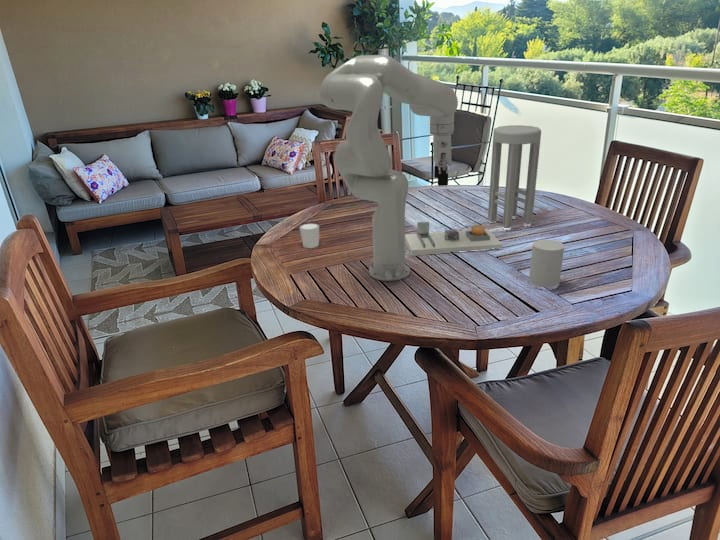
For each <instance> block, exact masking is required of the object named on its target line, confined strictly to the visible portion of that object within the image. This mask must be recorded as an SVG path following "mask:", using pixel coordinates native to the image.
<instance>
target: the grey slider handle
mask: <svg viewBox="0 0 720 540" xmlns="http://www.w3.org/2000/svg"><path fill="white" fill-rule="evenodd" d="M417 233H418V234H420V236H421V237H422V238H427V234H426V233H430V221H420V222H419V221H417V223H416V234H417Z"/></svg>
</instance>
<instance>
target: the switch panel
mask: <svg viewBox="0 0 720 540" xmlns="http://www.w3.org/2000/svg"><path fill="white" fill-rule="evenodd" d="M471 230H472V229H469V230H457V231H458V232H459V235H457V236H453V237H447V234H446V233H445V231H441V232H439V231H437V232H429V233H426V234H427V238H422V237H421V236H420V234H418V233H417V232H416V233H412V234H411V233H409V234H408V233H407V234H406V233H405V245H406V247H407V248H408V251H409V253H410V255H411V257H418V255H419V256H428V255H427V254H434V255H442V254H441V253H449V254H451V253H450V252H459V251H471V250H481V249H492V248H502V249H503V243H502V242H501V241H500V240H499V239H498V238H497V237H496V235H494V234H493V232H492V231H491V230H489V228H485V234H484V235H473V234H472V233H471Z"/></svg>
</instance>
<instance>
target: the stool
mask: <svg viewBox="0 0 720 540" xmlns="http://www.w3.org/2000/svg"><path fill="white" fill-rule="evenodd" d="M492 132H493V135H492V149H491V151H492V152H491V167H490V178H489V179H490V182H489V198H488V214H487V221H488V220H489V221H496V222H497V219H498V217H497V216H498V215H497V214H498V206H500V207H503V216H502V217H503V218H502V227H504V228H510V227H513V226H512V224H513V220H512V216H516V217H517V213H518V202H520V203H522V204H524V208H523V218H522V219H523V220H522V224H523V223H526V224H530V223H532V224H533V216H534V206H535V198H536V187H537V178H538V177H537V176H538V167H539V160H540V159H539V158H540V148H541V147H540V146H541V137H542V129H541V128H540V127H538V126H532V125H524V124H523V125H515V124H514V125H503V126H502V125H501V126H497V127H495V128H493V131H492ZM503 144H505V145H508V152H507V164H506V166H507V167H506V178H505V190H504V193H502V192H500V191H499V187H500V174H501V173H500V172H501V163H502V162H501V160H502V148H503V147H502V146H503ZM523 145H530V146H529V155H528V167H527V177H526V188H525V190H523V189H520V188H519V187H520V178H521V169H522V168H521V167H522V157H523V156H522V154H523ZM519 194H521V195H523V196H525V198H522V197H520V196H519ZM499 198H500V199H501V198H502V199H504V202H503V201H501V200H499Z"/></svg>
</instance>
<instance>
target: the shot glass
mask: <svg viewBox="0 0 720 540" xmlns="http://www.w3.org/2000/svg"><path fill="white" fill-rule="evenodd" d="M299 232H300V237H301V243H302V247H303V248H305V249H314V248H317V247H318V246H319V245H320V225H319V224H317V223H304V224H302V225H301V224H300V226H299Z"/></svg>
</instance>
